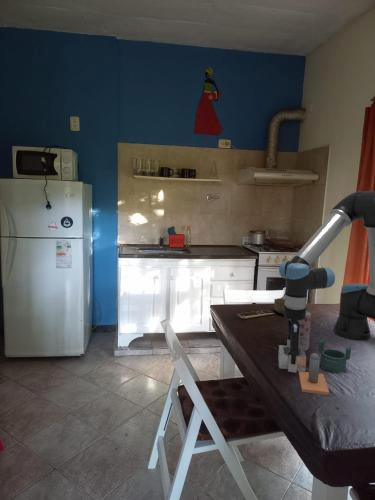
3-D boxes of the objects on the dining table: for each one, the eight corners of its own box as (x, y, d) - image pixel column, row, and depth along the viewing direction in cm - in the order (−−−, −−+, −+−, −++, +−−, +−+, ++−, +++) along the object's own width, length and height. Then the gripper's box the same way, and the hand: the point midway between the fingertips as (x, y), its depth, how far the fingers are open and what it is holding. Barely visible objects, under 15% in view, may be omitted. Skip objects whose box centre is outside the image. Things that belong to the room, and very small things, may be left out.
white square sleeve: (302, 360, 133) (303, 347, 132) (305, 371, 124) (306, 357, 124) (278, 357, 135) (279, 345, 134) (279, 368, 126) (279, 355, 126)
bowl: (266, 304, 199) (272, 288, 198) (290, 312, 199) (296, 295, 198) (273, 314, 181) (280, 296, 180) (299, 322, 182) (306, 304, 180)
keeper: (323, 376, 121) (325, 347, 119) (328, 395, 109) (331, 363, 108) (298, 373, 122) (300, 345, 121) (301, 391, 111) (304, 360, 109)
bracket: (315, 361, 132) (317, 339, 131) (339, 361, 133) (341, 339, 131) (326, 373, 123) (328, 349, 122) (352, 373, 124) (354, 349, 122)
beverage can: (310, 347, 145) (312, 312, 143) (307, 352, 140) (309, 315, 138) (296, 344, 148) (298, 309, 146) (292, 349, 143) (294, 313, 141)
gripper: (282, 297, 139) (279, 349, 142) (285, 316, 116) (281, 378, 119) (302, 298, 138) (298, 351, 141) (309, 318, 114) (305, 381, 117)
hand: (291, 363), depth 130 cm, fingers open, 12 cm apart
